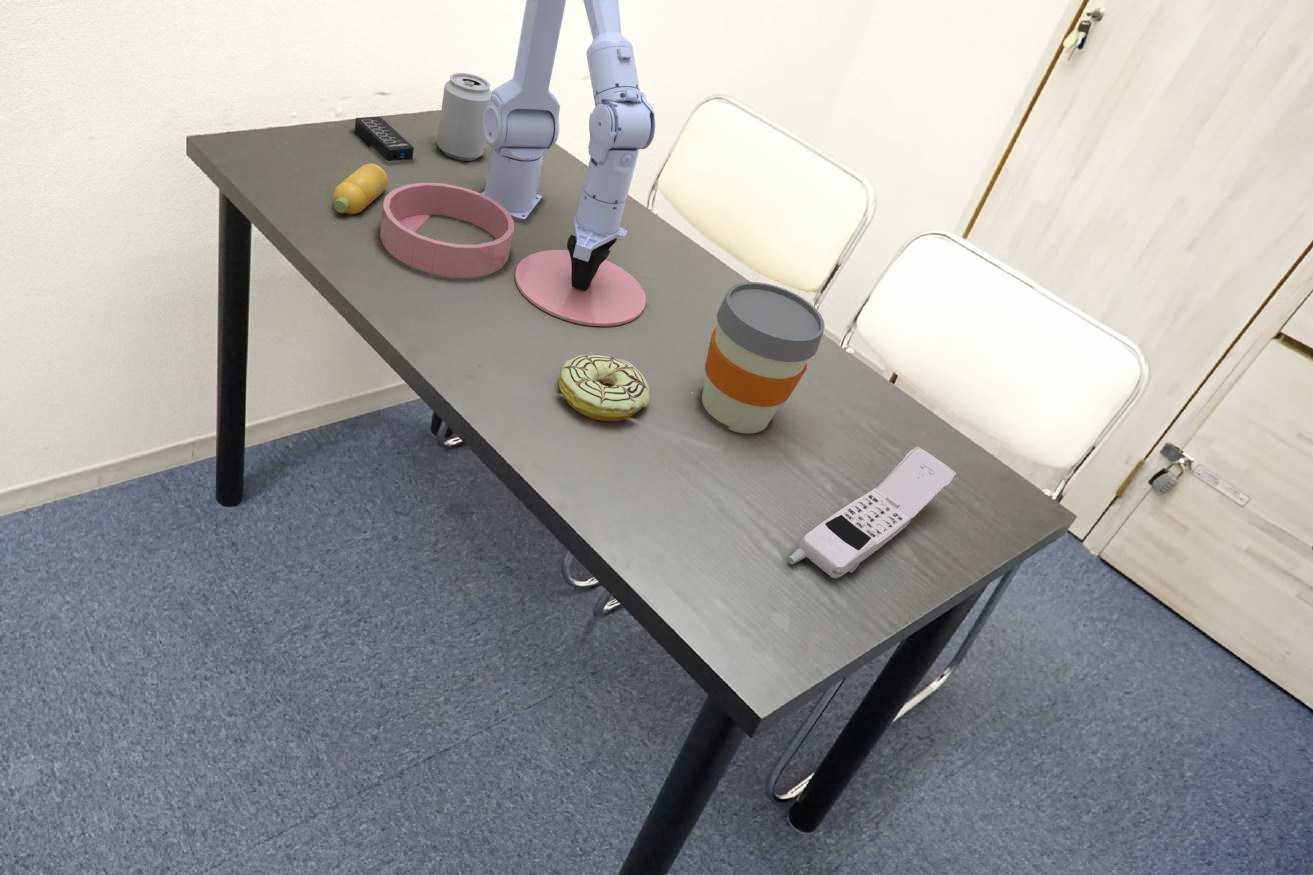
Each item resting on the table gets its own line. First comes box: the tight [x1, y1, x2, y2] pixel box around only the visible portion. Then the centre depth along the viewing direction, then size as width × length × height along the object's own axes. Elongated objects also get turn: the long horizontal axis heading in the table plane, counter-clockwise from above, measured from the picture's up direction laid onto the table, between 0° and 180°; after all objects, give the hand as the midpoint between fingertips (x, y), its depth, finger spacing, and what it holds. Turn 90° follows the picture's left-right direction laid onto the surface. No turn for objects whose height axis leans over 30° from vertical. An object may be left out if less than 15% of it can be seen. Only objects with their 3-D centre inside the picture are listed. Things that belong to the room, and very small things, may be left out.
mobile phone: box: [787, 445, 957, 579], centre depth 106 cm, size 6×6×25 cm
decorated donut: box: [558, 353, 651, 422], centre depth 112 cm, size 10×11×4 cm
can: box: [436, 72, 492, 162], centre depth 151 cm, size 8×8×12 cm
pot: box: [379, 182, 515, 279], centre depth 129 cm, size 17×17×5 cm
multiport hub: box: [354, 116, 415, 162], centre depth 148 cm, size 4×11×2 cm, turn 41°
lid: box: [514, 249, 647, 327], centre depth 130 cm, size 18×18×5 cm
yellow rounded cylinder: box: [333, 163, 389, 215], centre depth 132 cm, size 12×4×4 cm, turn 170°
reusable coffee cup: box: [701, 281, 826, 434], centre depth 115 cm, size 13×13×15 cm
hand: (582, 283), depth 130 cm, fingers closed on lid, 2 cm apart
